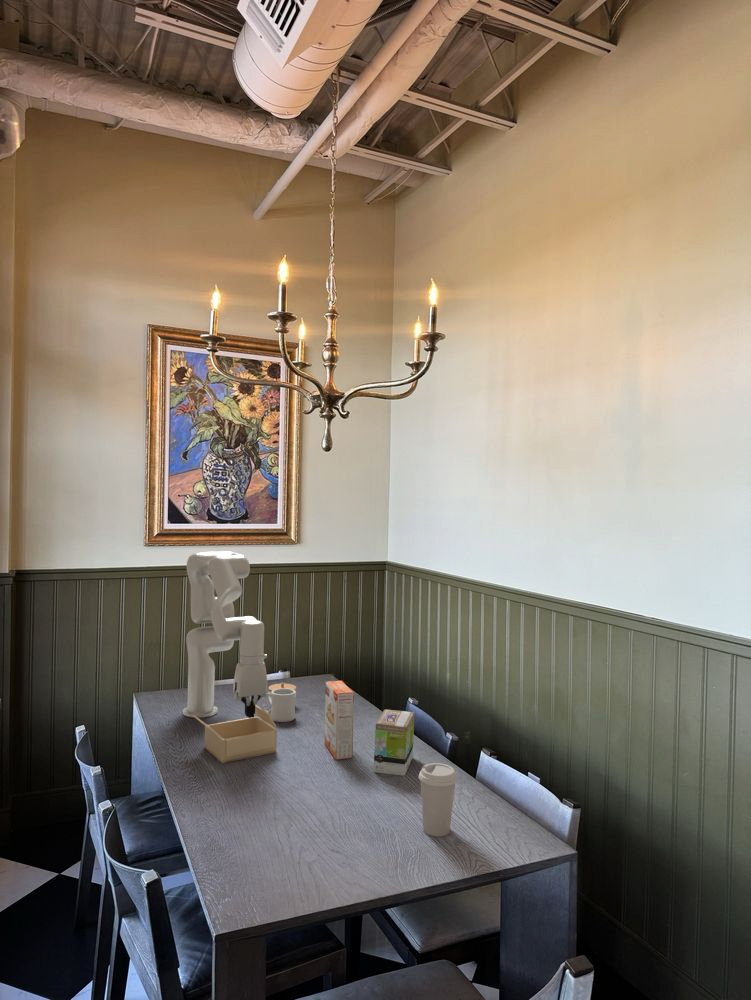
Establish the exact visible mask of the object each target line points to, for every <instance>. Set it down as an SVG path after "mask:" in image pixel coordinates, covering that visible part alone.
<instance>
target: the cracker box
mask: <svg viewBox="0 0 751 1000" xmlns="http://www.w3.org/2000/svg"><path fill="white" fill-rule="evenodd" d="M324 702H325V704H324V745H325V747H326V748H327V749H328V751H329V752H330V753H331V755H332V756H333V758H334V759H335V760H336V761H337V760H339V761H340V760H346V759H353V757H354V756H353V755H354V754H353V752H354V751H353V750H354V749H353V748H354V712H355V711H354V709H355V708H354V707H355V705H354V703H355V692H354V691H353V690H352V689H351V688H350V687H349V686H347V685H346V683H345V682H344V681H343V680H330V681H329V680H328V681H325V701H324Z"/></svg>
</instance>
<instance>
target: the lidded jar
mask: <svg viewBox="0 0 751 1000" xmlns="http://www.w3.org/2000/svg"><path fill="white" fill-rule="evenodd" d="M279 688H288V689H293V690H295V691H296V692H297V686H296V685H294V684H291V683H285V682H280V683H275V684H271V685H269V686H267V691H268V692H267V693H270V694H271V692H272V690H275V689H279ZM296 695H297V693H296V694H295V698H296V697H297V696H296ZM268 700H269V701H268V702H269V703H270V705H271V706H272V698H271V697H269V696H268Z"/></svg>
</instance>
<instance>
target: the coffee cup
mask: <svg viewBox="0 0 751 1000" xmlns="http://www.w3.org/2000/svg"><path fill="white" fill-rule="evenodd" d="M418 780H419V781H420V794H421V810H422V812H421V813H422V814H421V815H422V827H423V828H422V829H423V832H424V833H425V834H427V835H428V836H431V837H437V838H438V837H439V838H440V837H446V836H447V835H449V833H450V832H451V822H452V814H453V806H454V805H453V803H454V797H455V790H456V789H455V787H456V783H457V782H458V775H457V773H456V772H455V768H453V767H452V766H451V765H449V764H444V763H440V762H433V763H427V764H425V765H423V766H422V767H421V770H420V771H419V774H418Z"/></svg>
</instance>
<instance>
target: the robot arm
mask: <svg viewBox="0 0 751 1000" xmlns="http://www.w3.org/2000/svg"><path fill="white" fill-rule="evenodd" d="M250 570H251V567H250V562H249V560H248V558H247V557H246V556H245V555H243V554H242V553H241V554H240V553H237V552H235V551H234V552H233V551H202V552H195V553H192V554H191V555H189V556H188V559H187V562H186V572H187V577H188V581H189V584H190V585H189V586H190V617H191V620H192V622H194V623H195V624H212V625H209V626H200V627H199V626H198V627H195V628H193V629H191V630H190V631H188V632H187V635H186V638H185V639H186V640H185V641H186V642H185V643H186V648H187V660H188V661H187V665H188V668H187V706H186V707H184V708H183V709H182V715H183V716H185V717H187V718H193V719H196V718H195V717H194V716H193V715H195V716H196V717H197V718H199V719H200V718H208V717H212V716H215V715H216V714H218V712H219V709H218V707H217V706H216V705H215V704H214V703H215V676H216V674H215V673H216V672H215V670H216V666H215V662H214V660H213V659H212V658H211V656H210V653H215V652H216V653H217V652H218V653H219V652H227V651H229V650H231V649H232V648H233V646H234V643H235V641H239V663H236V666H235V672H234V676H233V678H234V679H233V685H232V688H233V689H232V691H233V692H232V693H233V694H234V697H233V699H234V700H235V701H237V702H238V701H239V702H242V703H243V704H244V715H245V716H246V718H251V717H252V718H253V717H255V715H256V713H255V705H257V704H258V702H259V700H260V699H263V697H264V696H266V693H267V691H268V676H267V668H266V663H265V659H267V658H268V655H267V654H265V653H264V651H265V650H264V647H265V646H264V645H265V644H264V643H265V624H264V622H263V621H261V620H258V619H257V618H256V617H255V616H252V615H251V616H250V615H246V616H235V606H234V602H235V601H236V600H238V599H239V598H240V596H241V595H242V594H243V588H242V586H241V583H240V581H239V579H246V578H247V577H248V576H249V575H250V572H251V571H250ZM215 593H216V596H215ZM266 697H267V696H266Z"/></svg>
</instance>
